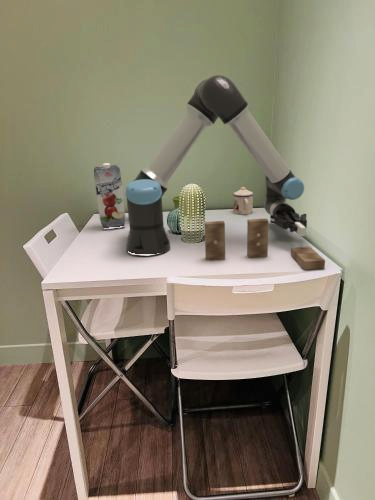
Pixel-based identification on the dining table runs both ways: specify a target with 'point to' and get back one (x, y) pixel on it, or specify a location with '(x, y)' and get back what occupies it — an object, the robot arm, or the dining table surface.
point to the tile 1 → (215, 240)
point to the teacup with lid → (243, 201)
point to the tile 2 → (257, 238)
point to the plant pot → (176, 201)
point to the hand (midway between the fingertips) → (303, 232)
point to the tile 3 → (307, 258)
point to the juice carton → (109, 195)
